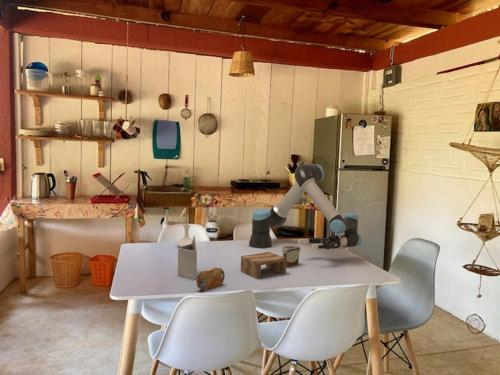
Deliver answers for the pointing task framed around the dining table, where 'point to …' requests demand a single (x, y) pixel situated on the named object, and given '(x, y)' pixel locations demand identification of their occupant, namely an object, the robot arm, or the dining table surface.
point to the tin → (210, 278)
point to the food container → (291, 255)
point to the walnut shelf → (262, 263)
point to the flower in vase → (186, 239)
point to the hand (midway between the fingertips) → (305, 244)
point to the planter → (187, 260)
